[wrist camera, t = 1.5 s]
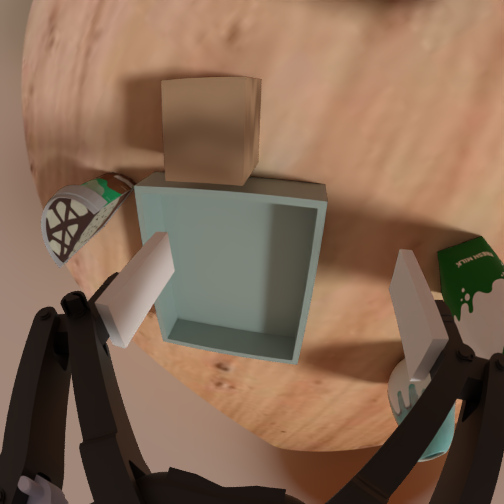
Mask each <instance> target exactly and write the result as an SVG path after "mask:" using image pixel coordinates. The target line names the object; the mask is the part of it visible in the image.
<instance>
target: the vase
mask: <svg viewBox="0 0 504 504" xmlns="http://www.w3.org/2000/svg"><path fill="white" fill-rule="evenodd" d="M430 381H431V377H430V373H429V374H428V376H427V378H426V379H425V381H409V375H408V370H407V365H406V359H405V358H404V359H403V360H401V361H400V362H399V363H398V364H397V365H396V367H395V368H394V370H393V371H392V373H391V375H390V378H389V381H388V389H387V392H388V399H389V403H390V407H391V410H392V413H393V415H394V418H395V420H396V422H397V424H398V426H399V425H400V423H401V422H402V421H403V419H404V418H405V417H406V415H407V414H408V413H409V411H410V410H411V409H412V407H413V406H414V405H415V403H416V402H417V400H418V399H419V397H420V396H421V395H422V393H423V392H424V390H425V389H426V387H427V386H428V384H429V383H430ZM455 405H456V401H455V403H454V405H453V407H452V409H451V410H450V412H449V414H448V416H447V417H446V419H445V421H444V422H443V424H442V426H441V427H440V429H439V430H438V432H437V434H436V435H435V437H434V438H433V440H432V441H431V443H430V444H429V446H428V447H427V449H426V450H425V452H424V453H423V455H422V456H421V457H420V459H419V460H418V462H422V461H427V460H431V459H434V458H436V457H438V456H441V455H443V454H445V453H446V452H447V450H448V449H449V447H450V445H451V442H452V439H453V434H454V422H455Z"/></svg>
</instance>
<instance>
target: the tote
mask: <svg viewBox="0 0 504 504" xmlns="http://www.w3.org/2000/svg"><path fill="white" fill-rule="evenodd" d="M134 190H135V198H136V205H137V213H138V219H139V226H140V232H141V238H142V244H143V246H144V244H145V243H146V242H147V241H148V240H149V239H150V238H151V237H152V236H153V235H154V233H155V232H156V231H157V232H168V237H169V243H170V248H171V254H172V259H173V264H174V269H175V271H174V273H173V274H172V276H171V278H170V279H169V281H168V282H167V284H166V285H165V287H164V288H163V290H162V291H161V293H160V294H159V296H158V298H157V299H156V301H155V302H154V305H155V309H156V314H157V318H158V322H159V326H160V330H161V334H162V338H163V341H165V342H169V343H174V344H178V345H183V346H187V347H192V348H197V349H202V350H207V351H212V352H218V353H223V354H229V355H234V356H240V357H246V358H253V359H259V360H266V361H273V362H280V363H288V364H296V365H297V363H298V359H299V355H300V350H301V346H302V341H303V337H304V332H305V327H306V323H307V318H308V313H309V308H310V303H311V298H312V292H313V287H314V282H315V276H316V271H317V265H318V260H319V254H320V248H321V242H322V235H323V229H324V223H325V216H326V209H327V202H328V201H327V193H326V186H325V184H317V183H308V182H300V181H290V180H281V179H270V178H259V177H248V179H247V180H246V182H245V184H244V185H243V186H238V185H225V184H211V183H195V182H176V181H166V179H165V172H154V173H152V174H151V175H149V176H148V177H146V178H145V179H143V180H142V181H140V182H139V183H138V184H136V185H135V186H134Z"/></svg>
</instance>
